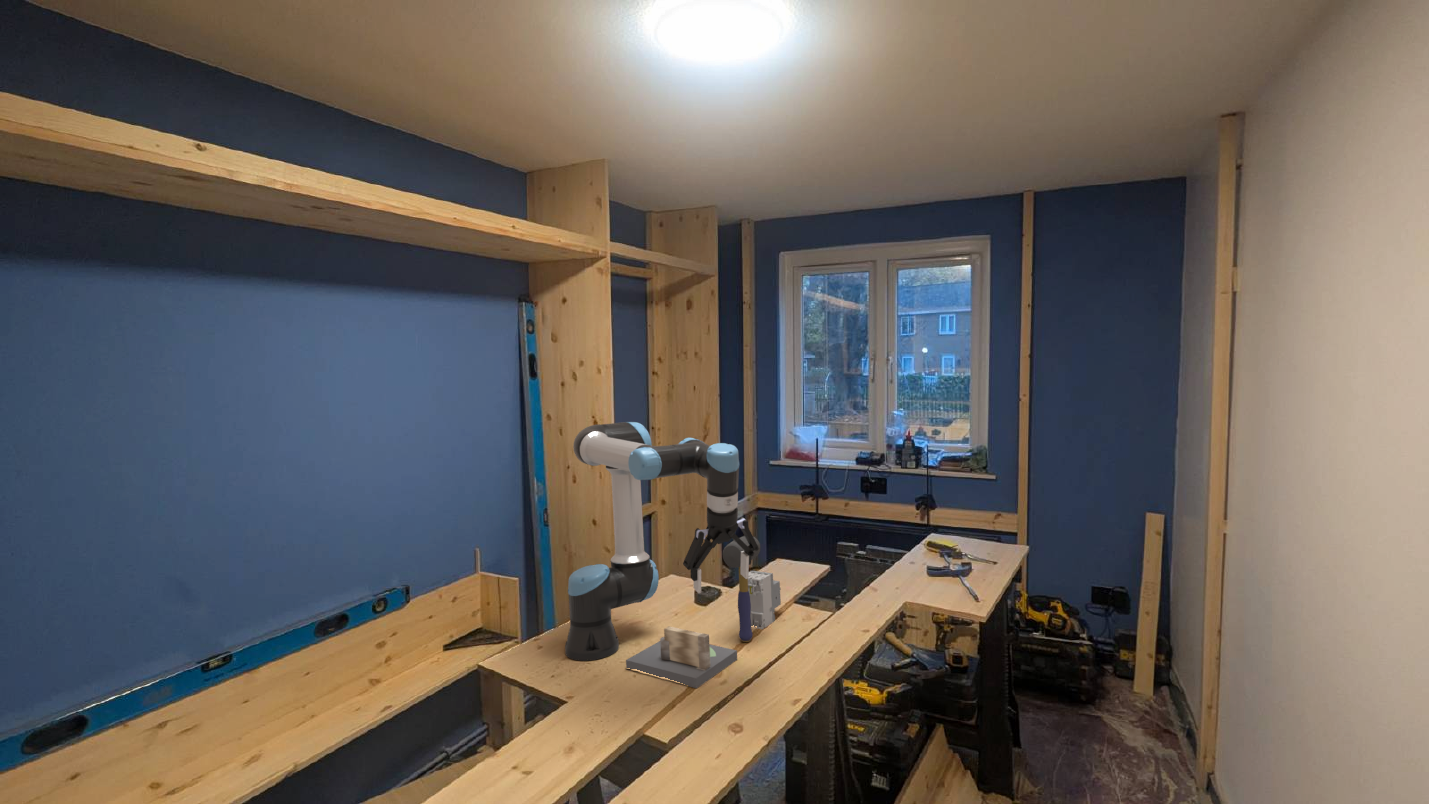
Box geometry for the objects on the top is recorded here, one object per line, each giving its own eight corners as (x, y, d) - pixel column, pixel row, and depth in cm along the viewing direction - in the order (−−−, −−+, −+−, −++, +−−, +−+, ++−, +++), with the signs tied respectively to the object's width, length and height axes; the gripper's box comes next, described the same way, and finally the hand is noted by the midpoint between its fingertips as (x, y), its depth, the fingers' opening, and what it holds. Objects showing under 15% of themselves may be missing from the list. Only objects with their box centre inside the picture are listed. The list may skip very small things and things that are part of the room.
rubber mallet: (748, 651, 178) (743, 544, 177) (724, 647, 181) (719, 542, 181) (766, 635, 189) (761, 534, 188) (743, 631, 192) (739, 532, 192)
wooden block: (658, 658, 169) (656, 628, 169) (666, 653, 172) (665, 624, 172) (704, 670, 160) (702, 638, 160) (712, 664, 163) (710, 633, 163)
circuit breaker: (783, 614, 205) (781, 568, 205) (762, 629, 193) (760, 580, 193) (762, 610, 209) (760, 565, 209) (741, 625, 197) (739, 577, 197)
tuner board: (626, 669, 170) (625, 659, 170) (670, 643, 185) (669, 635, 185) (696, 688, 157) (696, 678, 157) (737, 659, 173) (736, 650, 172)
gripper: (682, 524, 146) (683, 604, 152) (773, 502, 157) (770, 577, 163) (669, 511, 152) (670, 588, 158) (757, 490, 164) (755, 563, 170)
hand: (721, 583), depth 161 cm, fingers open, 13 cm apart
